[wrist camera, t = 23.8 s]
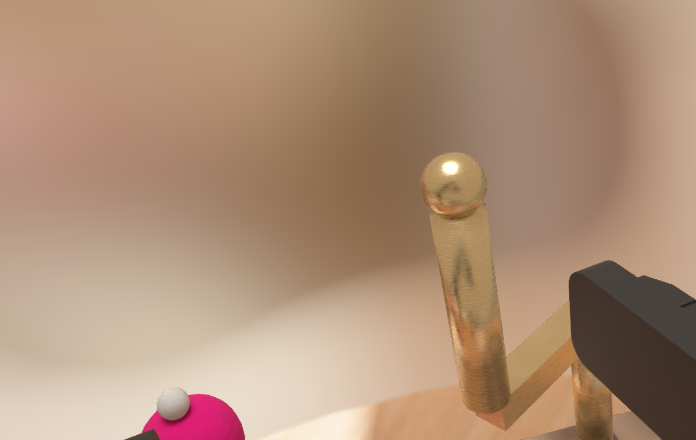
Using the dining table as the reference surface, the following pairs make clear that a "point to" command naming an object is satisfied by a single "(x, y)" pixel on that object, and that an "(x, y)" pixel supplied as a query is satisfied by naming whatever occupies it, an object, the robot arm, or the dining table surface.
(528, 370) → the brass crank handle
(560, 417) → the dining table surface
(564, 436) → the base
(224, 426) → the pepper mill
